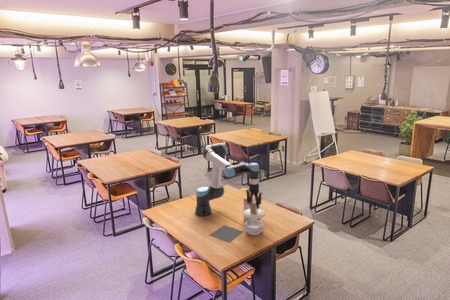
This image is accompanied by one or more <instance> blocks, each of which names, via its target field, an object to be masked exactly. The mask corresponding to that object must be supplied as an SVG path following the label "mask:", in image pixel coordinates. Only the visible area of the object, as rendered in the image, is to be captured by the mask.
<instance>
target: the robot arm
mask: <svg viewBox="0 0 450 300" xmlns="http://www.w3.org/2000/svg"><path fill="white" fill-rule="evenodd" d="M228 153H229V152H228V146H227V144H225V143H224V142H218V143H212V144H208V145H206V146H204V147H203V150H202V156H203V158H204V159H205V161H208V162H211V163H212V171H211V183H209V187H208V186H200V187H198V188H197V189H196V191H195V192H196V193H195V196H196V206H195V210H194V213H195V215H196V216H199V217H206V216H210V215H211V214H212V213H213V212H212V210H213V209H212V207H211V205H210V204H211V203H210V201H212V200H216V199H220V198H222V197H224V195H225V187H224V186H223V184H222V173H224V175H225V176H226V177H227V178H230V177H231V178H232V177H236V176H238V175H243V174H247V175H248V181H249V182H248V183H249V184H248V187H249V188H247V189H245V191H246V197H247V202H249V206H250V203H251V202H252V198H253V195H254V196H255V200H256V205H255V213H256V212H258V208H259V205H260V206H261V205H262V196H263V195H262V194H263V192H262V191H260V165H259V163H257V162H250V163H248V162H244V161H240V162H239V163H238V164H236V165H233V164H232V163H230V162H229V161H228V160H226V159H225V156H227V155H228ZM223 171H224V172H223ZM258 196H259V198H258Z"/></svg>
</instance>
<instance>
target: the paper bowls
mask: <svg viewBox="0 0 450 300" xmlns="http://www.w3.org/2000/svg"><path fill="white" fill-rule="evenodd" d="M264 228H265V224H264V222H263V221H261V220H260V219H257V220H256V219H251V220H248V221H244V232H246V233H247V234H248V235H250V236H258V235H260V234H261V233H263V231H264V230H265V229H264Z"/></svg>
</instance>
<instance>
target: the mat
mask: <svg viewBox="0 0 450 300" xmlns="http://www.w3.org/2000/svg"><path fill="white" fill-rule="evenodd" d="M244 232H245V230H244V231H243V230H241V229H238V228H234V227H231V226H228V225H225V224H223V225H222V226H220V227H219V228H217V229H215V230H214V231H212V233H210V234H209V236H210V237H212V238H216V239H218V240H221V241H223V242H227V243H231V242H233V241H234V240H235V239H237V238H238V237H239V236H241V235H242V234H243V233H244Z"/></svg>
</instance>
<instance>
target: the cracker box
mask: <svg viewBox="0 0 450 300" xmlns="http://www.w3.org/2000/svg"><path fill="white" fill-rule="evenodd" d="M258 198H259V195H258ZM252 201H255V202H256V200H255V196H254V195H253V198H252ZM247 209H250V206H249V202H247V196H246V197H243V212H244V211H245V210H247ZM258 209H261V204H260V205H259V208H258ZM248 220H251V219H249V218H246V217H244V216H243V221H244V222H246V221H248ZM256 220H258V219H256Z"/></svg>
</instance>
